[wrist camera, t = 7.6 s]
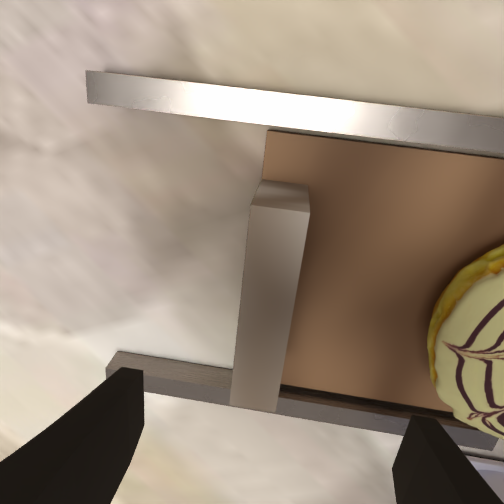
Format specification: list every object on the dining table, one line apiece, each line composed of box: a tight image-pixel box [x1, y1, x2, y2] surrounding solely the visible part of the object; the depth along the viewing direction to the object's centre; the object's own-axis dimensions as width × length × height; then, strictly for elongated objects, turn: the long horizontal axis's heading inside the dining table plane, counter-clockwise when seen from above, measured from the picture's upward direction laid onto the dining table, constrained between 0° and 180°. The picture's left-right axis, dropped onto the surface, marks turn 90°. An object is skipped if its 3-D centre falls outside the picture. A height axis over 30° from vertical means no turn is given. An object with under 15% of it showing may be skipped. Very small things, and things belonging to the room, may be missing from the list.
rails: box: [85, 70, 504, 451], centre depth 18 cm, size 16×21×2 cm
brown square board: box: [229, 130, 504, 413], centre depth 16 cm, size 18×13×5 cm
